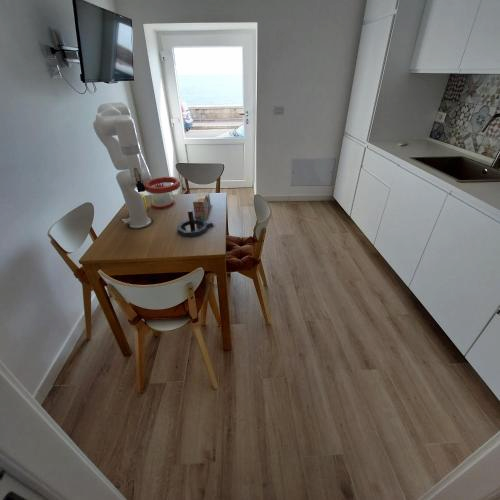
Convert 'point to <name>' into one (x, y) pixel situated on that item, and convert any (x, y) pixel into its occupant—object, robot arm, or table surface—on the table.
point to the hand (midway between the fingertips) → (141, 190)
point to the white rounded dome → (161, 199)
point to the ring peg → (192, 223)
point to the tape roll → (144, 202)
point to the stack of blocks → (201, 205)
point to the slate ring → (194, 233)
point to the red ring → (162, 189)
